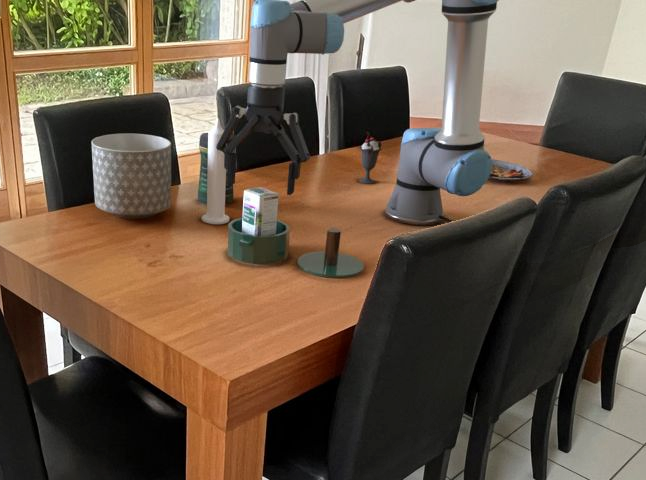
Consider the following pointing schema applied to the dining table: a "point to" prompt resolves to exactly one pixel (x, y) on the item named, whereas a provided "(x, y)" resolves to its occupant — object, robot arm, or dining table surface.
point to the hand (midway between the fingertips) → (260, 189)
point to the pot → (258, 244)
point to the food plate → (509, 171)
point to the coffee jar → (204, 171)
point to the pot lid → (331, 260)
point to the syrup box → (259, 212)
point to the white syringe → (215, 179)
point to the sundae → (369, 157)
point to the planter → (132, 174)
